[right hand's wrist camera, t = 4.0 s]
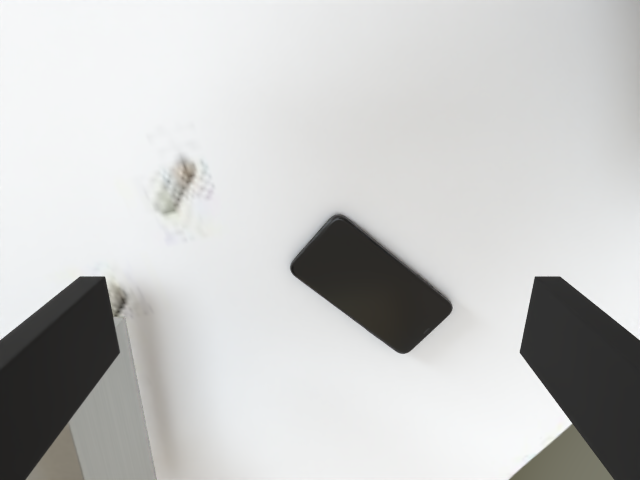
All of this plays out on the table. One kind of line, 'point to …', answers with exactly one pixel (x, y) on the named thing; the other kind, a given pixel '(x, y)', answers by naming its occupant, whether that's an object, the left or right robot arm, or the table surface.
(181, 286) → the table surface
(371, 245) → the smartphone
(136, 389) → the bar
